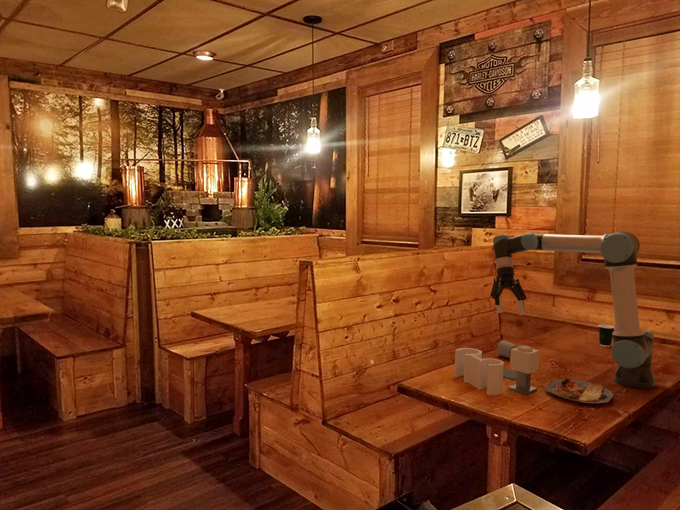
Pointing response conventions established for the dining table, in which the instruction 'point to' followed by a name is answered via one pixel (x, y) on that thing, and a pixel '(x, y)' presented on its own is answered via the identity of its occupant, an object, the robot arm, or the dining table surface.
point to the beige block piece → (524, 359)
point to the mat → (509, 374)
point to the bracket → (479, 370)
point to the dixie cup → (605, 335)
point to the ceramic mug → (505, 349)
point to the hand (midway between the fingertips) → (511, 313)
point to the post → (523, 383)
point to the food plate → (589, 390)
